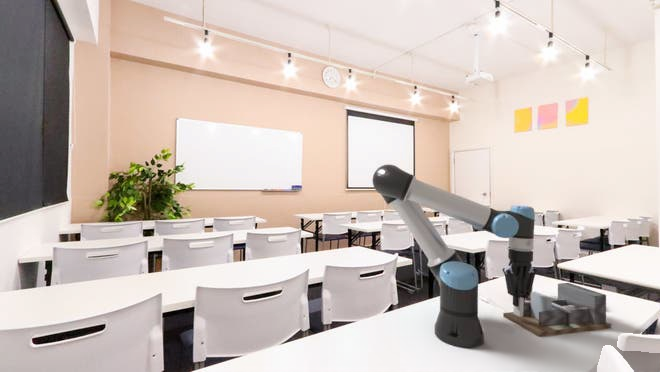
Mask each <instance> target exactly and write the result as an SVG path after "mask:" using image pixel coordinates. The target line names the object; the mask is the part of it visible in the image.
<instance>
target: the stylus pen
mask: <svg viewBox="0 0 660 372" xmlns="http://www.w3.org/2000/svg"><path fill="white" fill-rule="evenodd" d="M478 300H481V301H483V302H484V303H487V304H489V305H491V306H493V307H495V308H498V309H500V310H502V311H505V312H506V309H505V308H504V307H502V306H501V305H499V304H498V303H496V302H494V301H493V300H492V299H491V298H489V297H485V296H483V295H480V294H478Z"/></svg>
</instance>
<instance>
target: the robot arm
mask: <svg viewBox="0 0 660 372" xmlns="http://www.w3.org/2000/svg"><path fill="white" fill-rule="evenodd" d="M372 184H373V185H372V186H373V187H374V190H376V192H377V193H379V194H380V195H381V197H382V198H383V199H384V201H385V202H386V205H388V206H390V207H393V208H394V209H395V210H396V212H397V214H398V215H399V217H400V218H401V220H402V221H403V223H404V225H405V226H406V227H407V229H408V231H409V232H410V233H411V236H412V237H413V238H414V239H415V241H416V243H417V244H418V246H419V247H420V249H421V251H422V252H423V253H424V255H425V256H426V258H427V259H428V262H427V267H428V268H429V270H430V272H431V273H432V274H433V276H434V277H435V279H436V281H437V282H438V286H439V311H438V312H439V313H438V315H437V318H436V321H435V324H434V334H435V336H436V337H437V338H438V340H441V341H442V342H444V343H447V344H449V345H452V346H456V347H461V348H475V347H480V346H481V345H483V344H484V341H485V339H484V338H485V334H484V329H483V327H482V324H481V322H480V318H479V273H478V270H477V269H476V267H475V266H473V265H471V264H468V263H467V262H463V260H462V259H461V257H460V256H459V254H458V253H457V251H456V250H455V249H454V248H450V247H448V245H447V243H446V242H445V241H444V239H443V238H442V236H441V234H440V233H439V231H438V230H437V229H436V227H435V226H434V224H433V223H432V222H431V220H430V219H429V217H428V215H427V214H426V212H425V211H424V209H423V208H422V206H423V207H426V208H428V209H430V210H432V211H436V212H438V213H440V214H442V215H443V214H444V215H445V216H448V217H450V218H453V219H456V220H458V221H461V222H463V223H466V224H468V225H471V226H472V227H474V229H475V230H477V231H482V232H484V231H485V232H488V233H491V234H493V235H494V236H497V237H498V238H503V239H508V247H509V248H508V255H507V257H508V259H509V263H508V266H507V267H506V268H505V267H504V268H503V267H502V273H503V274H504V278H505V284H506V285H505V286H506V289H507V290H506V291H507V294H508V295H510V296H512V305H513V312H514V314H515V315H517V316H519V317H522V316H523V307H524V305H525V302H526V300H525V298H528V296H529V295H530V294H531V290H532V291H533V286H534V285H533V284H534V281H535V277H536V274H537V273H538V268H534V267H533V266H532V265H533V264H532V262H534V251H533V250H534V241H535V240H534V239H535V237H534V235H535V234H534V233H535V221H536V219H535V217H536V216H535V209H534V208H533V207H532V206H529V205H510V207H509V210H496V209H494V208H491V207H489V206H486V205H484V204H481V203H479V202H476V201H473V200H471V199H468V198H466V197H464V196H463V197H462V196H460V195H457V194H455V193H452V192H450V191H447V190H445V189H442V188H439V187H437V186H434V185H431V184H429V183H427V182H424V181H421V180H419V179H417V177H416V176H415V175H413V174H412V173H409V172H407V171H404V170H403V169H402V168H400V167H398V166H397V165H393V164H384V165H381V166H380V167H378V168H377V169H376V170H375V171H374V173H373V175H372ZM532 285H533V286H532ZM527 295H528V296H527Z"/></svg>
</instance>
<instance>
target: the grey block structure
mask: <svg viewBox="0 0 660 372" xmlns="http://www.w3.org/2000/svg"><path fill="white" fill-rule="evenodd" d="M552 303H555V304H557V305H560V306H562V307H565V308H567V309H568V310H570V311H571V313H570V326H567V325H566V312H565V311H562V310H553V311H543V312H539V320H538V319H536V318H534V317H532V316H531V301H525V305H524V307H523V316H522V317H519V316H517V315H515V314H514V311H512V312H511V311H507V312H503V313H502V314H503V315H502V316H503V318H504V319H506V320H508V321H509V322H512V323H513V324H515V325H518V326H519V327H521V328H523V329H524V330H527V331H528V332H530V333H532V334H534V335H536V337H539V338H541V337H543V338H544V337H551V336H558V335H559V336H560V335H566V334H567V335H568V334H576V333H583V332H592V331H600V330H608V329H609V330H610V329H612V323H609V322H608V321H607V295H606V294H604V293H602V292H601V293H600V292H598V291H595V290H592V289H588V288H586V287H582V286H579V285H575V284H572V283H570V282H562V283H557V299H556V298H554V299H552Z"/></svg>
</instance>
